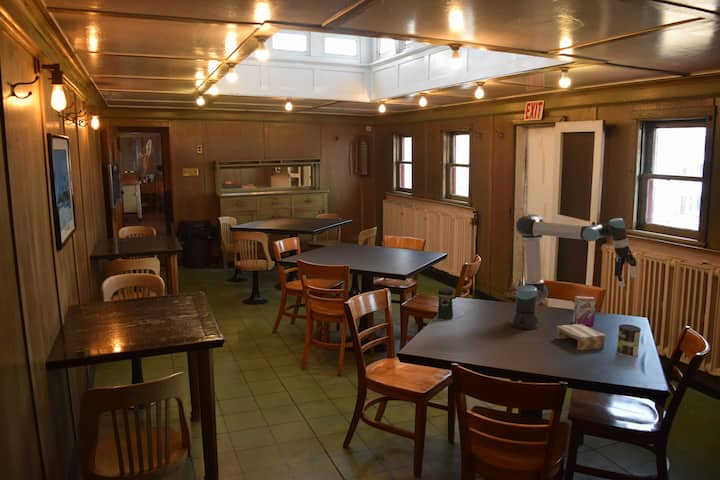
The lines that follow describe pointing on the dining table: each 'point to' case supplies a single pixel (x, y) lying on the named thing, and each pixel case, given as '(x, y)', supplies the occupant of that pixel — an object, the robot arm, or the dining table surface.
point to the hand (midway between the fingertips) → (628, 281)
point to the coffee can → (628, 340)
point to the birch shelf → (582, 336)
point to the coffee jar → (445, 303)
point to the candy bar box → (584, 310)
